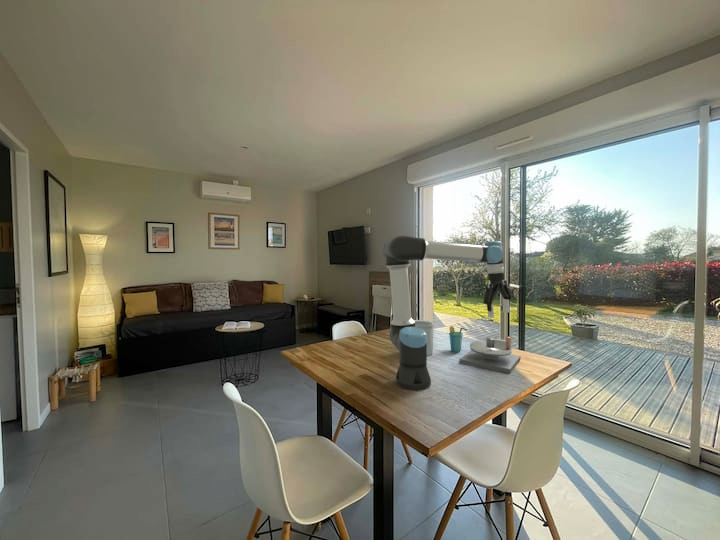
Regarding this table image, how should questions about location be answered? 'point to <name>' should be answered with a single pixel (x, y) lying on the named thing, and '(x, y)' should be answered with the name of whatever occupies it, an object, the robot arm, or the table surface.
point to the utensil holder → (427, 333)
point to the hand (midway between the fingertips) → (499, 314)
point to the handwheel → (492, 347)
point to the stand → (491, 361)
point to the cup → (455, 339)
